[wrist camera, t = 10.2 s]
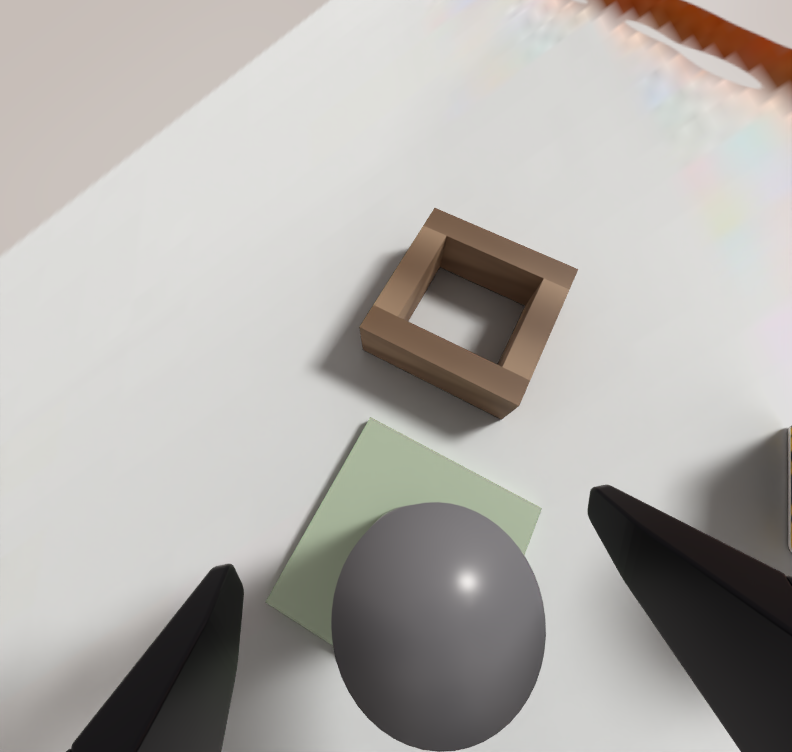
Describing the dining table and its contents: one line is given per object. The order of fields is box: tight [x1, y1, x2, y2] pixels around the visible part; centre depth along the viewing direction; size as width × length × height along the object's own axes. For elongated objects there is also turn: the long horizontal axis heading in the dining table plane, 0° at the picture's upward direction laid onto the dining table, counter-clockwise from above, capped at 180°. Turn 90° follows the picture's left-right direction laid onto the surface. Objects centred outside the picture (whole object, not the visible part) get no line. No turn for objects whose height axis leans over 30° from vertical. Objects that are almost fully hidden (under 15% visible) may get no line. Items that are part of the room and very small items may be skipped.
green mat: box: [265, 417, 542, 645], centre depth 19 cm, size 10×10×1 cm
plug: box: [331, 502, 546, 752], centre depth 13 cm, size 4×4×11 cm
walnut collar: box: [359, 208, 578, 420], centre depth 22 cm, size 9×9×3 cm
